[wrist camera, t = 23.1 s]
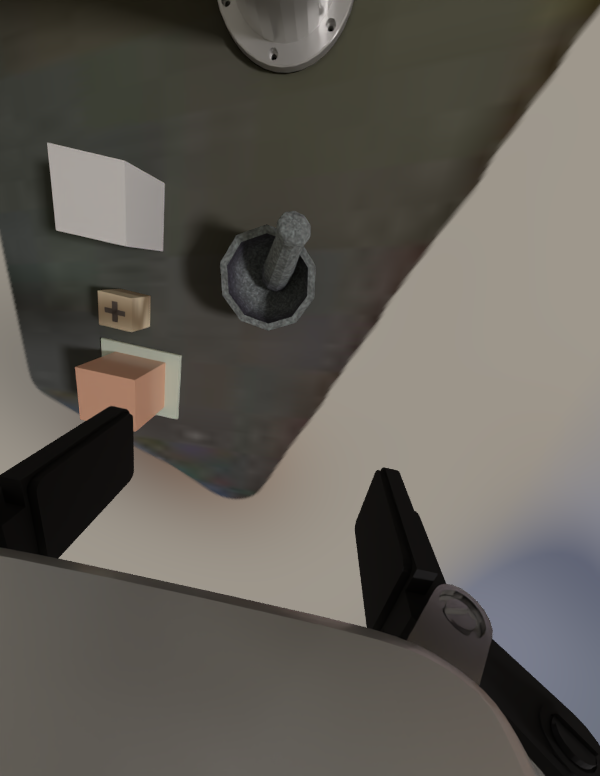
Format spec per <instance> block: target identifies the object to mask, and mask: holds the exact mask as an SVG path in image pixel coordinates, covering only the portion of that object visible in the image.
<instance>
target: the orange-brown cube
mask: <svg viewBox="0 0 600 776" xmlns="http://www.w3.org/2000/svg"><path fill="white" fill-rule="evenodd" d="M165 365H166V363H165V362H161V361H156V360H152V359H147V358H143V357H138V356H134V355H129V354H124V353H120V352H113V353H111V354H108V355H105V356H103V357H100V358H97V359H95V360H92V361H90V362H87V363H84V364H82V365H79V366H76V367H75V371H76V381H77V391H78V401H79V412H80V419H81V420H85V421H87V420H88V419H90V418H91V417H93V416H95V415H96V414H98V413H99V412H101V411H103V410H104V409H106V408H107V407H109V406H115V407H119V408H124V409H127V410H129V413H130V414H131V415H132V416H133V431H135V432H136V431H137V430H138V429H139V428H140V427H142V426H143V425H144V424H145V423H146V422H147V421H149V420H150V419H151V418H152V417H153V416H155V415H156V414H157V413H158V412H159V411H160V410H162V409H163V408H164V400H165Z"/></svg>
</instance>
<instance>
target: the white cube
mask: <svg viewBox="0 0 600 776" xmlns="http://www.w3.org/2000/svg"><path fill="white" fill-rule="evenodd" d="M47 146H48V156H49V166H50V176H51V186H52V195H53V205H54V215H55V225H56V230H57V231H62V232H66V233H70V234H74V235H79V236H83V237H87V238H92V239H96V240H100V241H105V242H109V243H113V244H118V245H122V246H126V247H134V248H142V249H149V250H157V251H163V230H164V194H165V183H163V182H161V181H160V180H158V179H156V178H154V177H153V176H151V175H149V174H147V173H145V172H144V171H142V170H140V169H138V168H137V167H135V166H133V165H131V164H129V163H128V162H126V161H123V160H119V159H115V158H111V157H106V156H102V155H98V154H93V153H89V152H85V151H81V150H76V149H72V148H68V147H64V146H59V145H55V144H51V143H47Z"/></svg>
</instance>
